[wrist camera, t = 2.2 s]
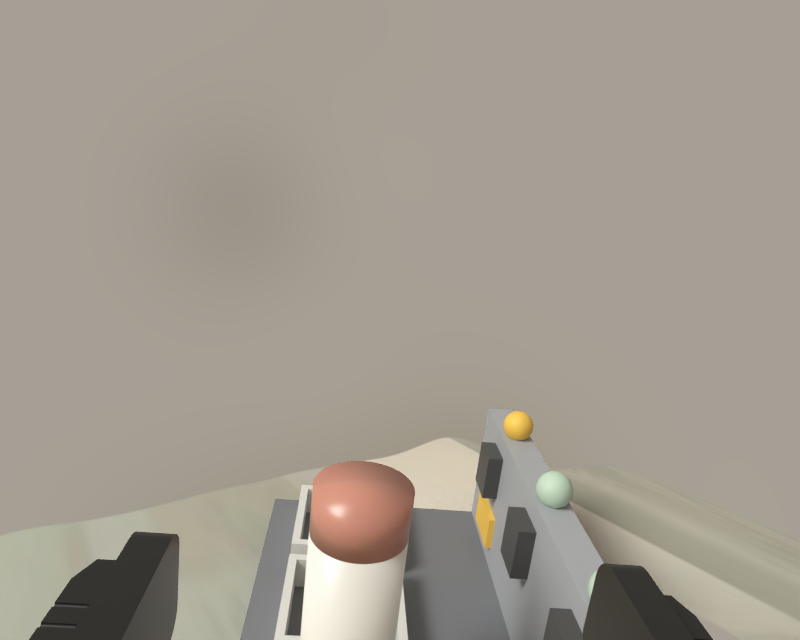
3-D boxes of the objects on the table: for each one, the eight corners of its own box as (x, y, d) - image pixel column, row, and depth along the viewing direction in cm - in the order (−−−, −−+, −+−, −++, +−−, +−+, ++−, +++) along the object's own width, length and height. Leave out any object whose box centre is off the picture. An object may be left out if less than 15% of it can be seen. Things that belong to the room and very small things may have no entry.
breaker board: (274, 512, 47) (284, 368, 43) (499, 526, 48) (524, 388, 45) (180, 897, 23) (186, 637, 19) (636, 900, 24) (710, 661, 21)
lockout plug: (337, 704, 30) (364, 451, 26) (396, 761, 27) (435, 491, 24) (271, 758, 27) (291, 481, 23) (331, 828, 24) (364, 530, 21)
